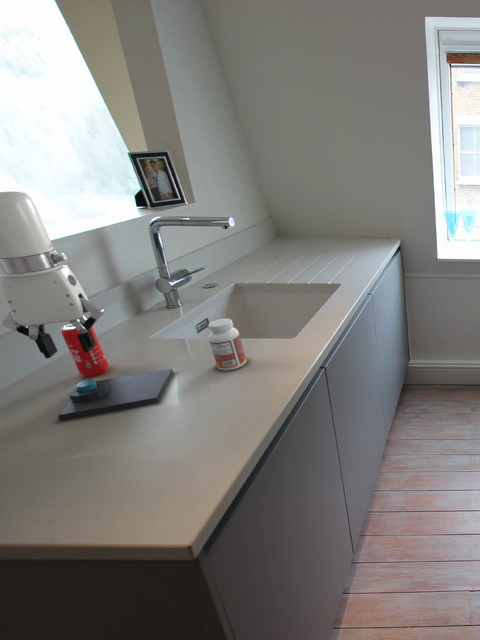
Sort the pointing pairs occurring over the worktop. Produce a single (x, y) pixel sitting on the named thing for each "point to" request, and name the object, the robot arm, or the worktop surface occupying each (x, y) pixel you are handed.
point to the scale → (118, 394)
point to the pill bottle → (226, 345)
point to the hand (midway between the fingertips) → (70, 351)
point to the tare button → (86, 386)
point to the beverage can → (89, 361)
